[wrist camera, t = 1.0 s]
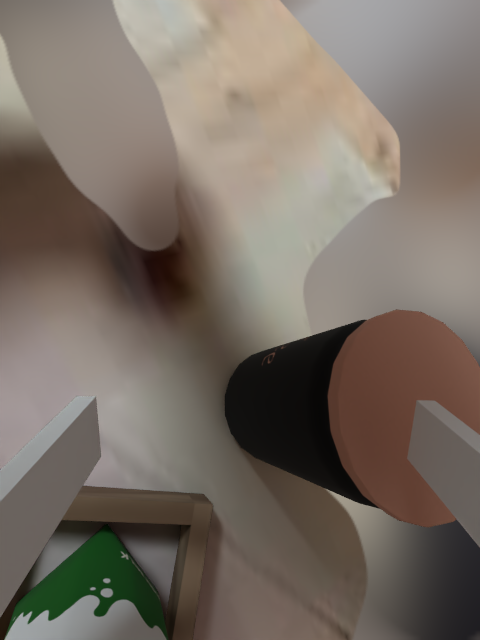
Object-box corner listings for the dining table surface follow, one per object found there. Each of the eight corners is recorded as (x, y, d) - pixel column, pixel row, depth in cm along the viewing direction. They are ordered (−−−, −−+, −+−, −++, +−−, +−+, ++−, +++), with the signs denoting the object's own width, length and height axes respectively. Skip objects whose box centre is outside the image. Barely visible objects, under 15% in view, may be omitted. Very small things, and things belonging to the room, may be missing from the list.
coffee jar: (317, 360, 36) (488, 330, 19) (311, 463, 33) (507, 530, 16) (228, 342, 32) (341, 287, 16) (212, 454, 29) (332, 527, 13)
